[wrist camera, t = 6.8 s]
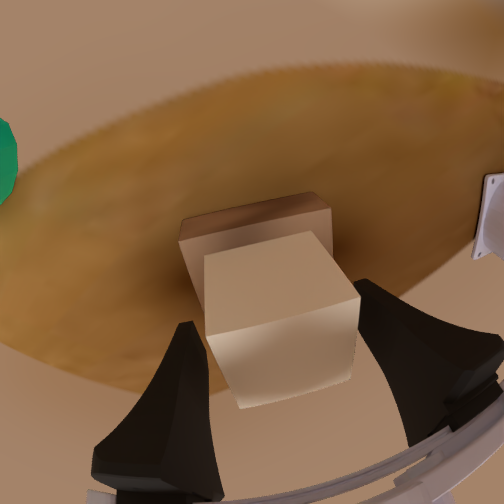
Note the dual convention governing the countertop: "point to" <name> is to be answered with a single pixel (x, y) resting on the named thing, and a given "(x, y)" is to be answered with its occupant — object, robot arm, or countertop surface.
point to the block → (280, 318)
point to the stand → (251, 229)
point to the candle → (7, 160)
